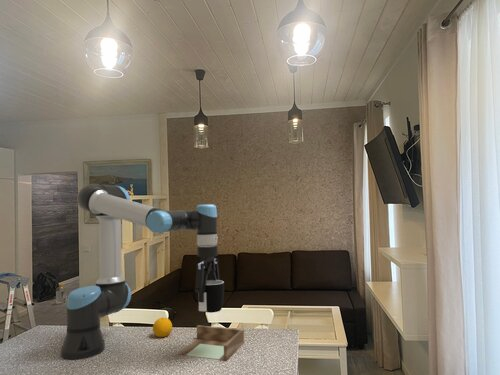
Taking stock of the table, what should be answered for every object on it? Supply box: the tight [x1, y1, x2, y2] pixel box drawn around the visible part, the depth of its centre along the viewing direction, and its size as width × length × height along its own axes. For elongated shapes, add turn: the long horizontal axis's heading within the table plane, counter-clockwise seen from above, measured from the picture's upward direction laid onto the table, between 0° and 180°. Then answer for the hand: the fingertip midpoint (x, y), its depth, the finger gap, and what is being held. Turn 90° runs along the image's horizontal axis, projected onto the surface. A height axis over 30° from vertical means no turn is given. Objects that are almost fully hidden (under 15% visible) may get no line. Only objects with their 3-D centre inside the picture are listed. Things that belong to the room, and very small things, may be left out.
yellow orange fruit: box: [152, 317, 173, 338], centre depth 148 cm, size 8×8×8 cm
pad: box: [186, 344, 224, 361], centre depth 127 cm, size 13×11×1 cm
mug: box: [192, 279, 225, 314], centre depth 128 cm, size 12×9×10 cm
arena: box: [176, 325, 245, 362], centre depth 130 cm, size 20×17×6 cm
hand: (208, 307), depth 128 cm, fingers closed on mug, 9 cm apart
